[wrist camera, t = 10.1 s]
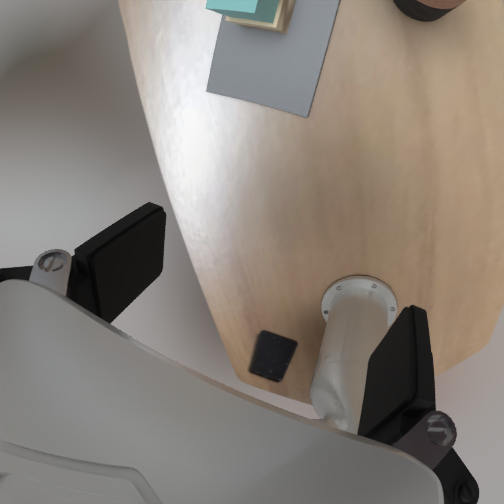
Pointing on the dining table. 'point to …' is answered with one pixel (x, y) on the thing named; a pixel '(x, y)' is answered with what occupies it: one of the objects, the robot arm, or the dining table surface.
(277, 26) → the beech block
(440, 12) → the travel mug
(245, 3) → the teal block
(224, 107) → the dining table surface
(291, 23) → the build board
